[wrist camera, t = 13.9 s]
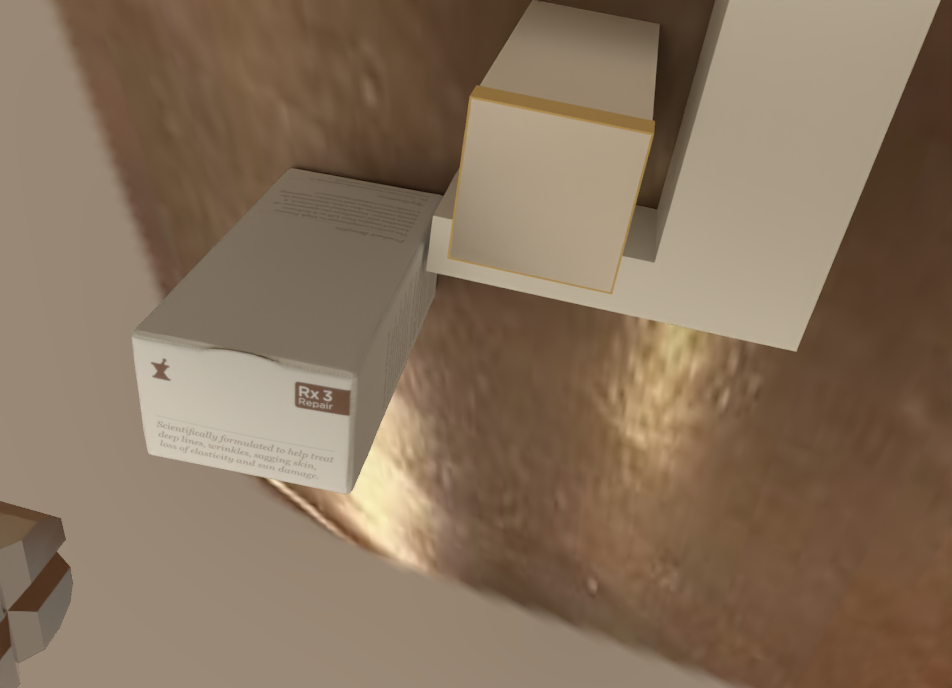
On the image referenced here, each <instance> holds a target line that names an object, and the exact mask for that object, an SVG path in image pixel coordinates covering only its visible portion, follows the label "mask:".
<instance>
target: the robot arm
mask: <svg viewBox="0 0 952 688" xmlns="http://www.w3.org/2000/svg"><path fill="white" fill-rule="evenodd" d="M65 540H66V538H65V534H64V530H63V525H62V521H61V518H58V517H55V516H51V515H47V514H44V513H40V512H37V511H33V510H29V509H26V508H22V507H19V506H15V505H12V504H8V503H5V502H1V501H0V688H17V687H18V686H19V685H20V672H19V663H20V662H22V661H24V660H26V659H28V658H30V657H32V656H34V655H35V654H37V653H39V652H41V651H43V650H45V649H46V647H47V646H48V644H49V643H50V641H51V640H52V638H53V637H54V635H55V634H56V633H57V631H58V630H59V628H60V626H61V624H62V621H63V619H64V616H65V614H66V612H67V609H68V607H69V604H70V601H71V594H72V593H71V592H72V585H73V581H72V575H71V567H70V566H69V565H68V564H67V563H66V562H65V560H64V559H63V558H62V557H61V556H60V555H59V554H58V553H57V550H58V549H59V548H60V546H61V545H62V544H63V542H64V541H65Z"/></svg>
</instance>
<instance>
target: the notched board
mask: <svg viewBox="0 0 952 688" xmlns="http://www.w3.org/2000/svg"><path fill="white" fill-rule="evenodd" d="M939 3H940V0H715V2H714V6H713V10H712V13H711V17H710V20H709V24H708V28H707V31H706V35H705V39H704V42H703V46H702V49H701V53H700V57H699V60H698V64H697V67H696V71H695V75H694V78H693V82H692V86H691V89H690V93H689V96H688V100H687V104H686V107H685V111H684V114H683V118H682V122H681V125H680V129H679V133H678V136H677V140H676V143H675V147H674V151H673V154H672V158H671V161H670V165H669V169H668V172H667V176H666V180H665V183H664V187H663V190H662V194H661V198H660V201H659V205H658V208H657V209H653V208H648V207H643V206H638V205H635V209H634V213H633V217H632V220H631V224H630V228H629V232H628V236H627V239H626V243H625V247H624V251H623V255H622V259H621V262H620V266H619V270H618V274H617V278H616V281H615V285H614V289H613V293H612V294H607V293H603V292H598V291H593V290H589V289H584V288H580V287H575V286H570V285H566V284H561V283H557V282H552V281H547V280H543V279H538V278H534V277H529V276H524V275H520V274H515V273H511V272H506V271H501V270H497V269H492V268H488V267H483V266H478V265H474V264H469V263H465V262H460V261H456V260H451V259H447V256H448V248H449V241H450V234H451V227H452V220H453V212H454V205H455V198H456V191H457V184H458V177H459V169H460V168H459V169H458V171H457V172H456V174H455V176H454V178H453V180H452V182H451V183H450V185H449V187H448V189H447V191H446V193H445V194H444V196H443V198H442V200H441V202H440V204H439V205H438V207H437V209H436V211H435V213H434V215H433V219H432V227H431V235H430V243H429V251H428V259H427V267H426V271H429V272H433V273H438V274H442V275H447V276H452V277H456V278H461V279H465V280H470V281H475V282H479V283H484V284H488V285H493V286H497V287H502V288H507V289H511V290H516V291H520V292H525V293H530V294H534V295H539V296H543V297H548V298H552V299H557V300H562V301H566V302H571V303H575V304H580V305H584V306H589V307H594V308H598V309H603V310H607V311H612V312H617V313H621V314H626V315H630V316H635V317H639V318H644V319H649V320H653V321H658V322H662V323H667V324H672V325H676V326H681V327H685V328H690V329H694V330H699V331H704V332H708V333H713V334H717V335H722V336H726V337H731V338H736V339H740V340H745V341H749V342H754V343H759V344H763V345H768V346H772V347H777V348H781V349H786V350H791V351H795V352H796V351H797V348H798V346H799V343H800V341H801V338H802V336H803V334H804V331H805V329H806V326H807V324H808V321H809V319H810V317H811V314H812V312H813V309H814V307H815V304H816V302H817V300H818V297H819V295H820V292H821V290H822V287H823V285H824V283H825V280H826V278H827V275H828V273H829V270H830V268H831V265H832V263H833V261H834V258H835V256H836V253H837V251H838V248H839V246H840V244H841V241H842V239H843V236H844V234H845V231H846V229H847V227H848V224H849V222H850V219H851V217H852V214H853V212H854V210H855V207H856V205H857V202H858V200H859V197H860V195H861V192H862V190H863V188H864V185H865V183H866V180H867V178H868V175H869V173H870V171H871V168H872V166H873V163H874V161H875V158H876V156H877V154H878V151H879V149H880V146H881V144H882V141H883V139H884V137H885V134H886V132H887V129H888V127H889V124H890V122H891V120H892V117H893V115H894V112H895V110H896V107H897V105H898V102H899V100H900V98H901V95H902V93H903V90H904V88H905V85H906V83H907V81H908V78H909V76H910V73H911V71H912V68H913V66H914V64H915V61H916V59H917V56H918V54H919V51H920V49H921V47H922V44H923V42H924V39H925V37H926V34H927V32H928V29H929V27H930V25H931V22H932V20H933V17H934V15H935V12H936V10H937V8H938V5H939Z"/></svg>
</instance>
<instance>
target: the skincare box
mask: <svg viewBox="0 0 952 688" xmlns="http://www.w3.org/2000/svg"><path fill="white" fill-rule="evenodd" d="M442 198H443V196H442V195H439V194H433V193H427V192H421V191H415V190H410V189H404V188H399V187H393V186H388V185H382V184H377V183H372V182H366V181H361V180H355V179H350V178H344V177H338V176H333V175H327V174H322V173H316V172H311V171H305V170H300V169H294V168H290V169H288V170H287V171H286V172H285V173H284V174H283V175H282V176H281V177H280V178H279V179H278V180H277V181H276V182H275V183H274V185H272V187H271V188H270V189H269V190H268V191H267V192H266V193H265V194H264V195H263V196H262V197H261V198H260V199H259V200H258V201H257V202H256V203H255V204H254V205H253V206H252V207H251V208H250V209H249V210H248V212H247V213H246V214H245V215H244V216H243V217H242V218H241V219H240V220H239V221H238V222H237V223H236V224H235V225H234V226H233V227H232V228H231V229H230V230H229V232H228V233H227V234H226V235H225V236H224V237H223V238H222V239H221V240H220V241H219V242H218V243H217V244H216V245H215V246H214V247H213V248H212V249H211V250H210V251H209V252H208V254H207V255H206V256H205V257H204V258H203V259H202V260H201V261H200V262H199V263H198V264H197V265H196V266H195V267H194V268H193V269H192V270H191V271H190V272H189V273H188V274H187V275H186V277H185V278H184V279H183V280H182V281H181V282H180V283H179V284H178V285H177V286H176V287H175V288H174V289H173V290H172V291H171V292H170V293H169V294H168V295H167V297H166V298H165V299H164V300H163V301H162V302H161V303H160V304H159V305H158V306H157V307H156V308H155V309H154V310H153V311H152V312H151V313H150V314H149V315H148V317H147V318H146V319H145V320H144V321H143V322H142V323H141V324H140V325H139V326H138V327H137V328H136V329H135V330H134V331H133V333H132V345H133V353H134V361H135V371H136V376H137V384H138V392H139V399H140V406H141V415H142V423H143V428H144V434H145V439H146V444H147V450H148V452H149V454H151V455H156V456H161V457H166V458H171V459H176V460H181V461H186V462H191V463H196V464H201V465H206V466H211V467H216V468H221V469H225V470H231V471H235V472H241V473H245V474H250V475H255V476H260V477H265V478H270V479H275V480H279V481H284V482H290V483H295V484H299V485H304V486H309V487H314V488H319V489H324V490H328V491H333V492H337V493H341V494H349V493H350V492H351V491H352V490H353V488H354V486H355V483H356V481H357V478H358V476H359V474H360V472H361V469H362V467H363V464H364V462H365V460H366V458H367V456H368V453H369V451H370V448H371V446H372V443H373V441H374V438H375V436H376V433H377V431H378V428H379V426H380V424H381V421H382V419H383V416H384V414H385V412H386V409H387V407H388V405H389V402H390V400H391V398H392V395H393V393H394V391H395V388H396V386H397V383H398V381H399V379H400V376H401V374H402V372H403V370H404V367H405V365H406V363H407V360H408V358H409V356H410V353H411V351H412V349H413V346H414V344H415V342H416V339H417V337H418V334H419V332H420V330H421V327H422V325H423V323H424V320H425V318H426V316H427V313H428V311H429V308H430V306H431V304H432V301H433V299H434V297H435V294H436V281H437V273H433V272H429V271H426V267H427V259H428V251H429V243H430V235H431V227H432V219H433V215H434V213H435V211H436V209H437V207H438V205H439V204H440V202H441V200H442Z"/></svg>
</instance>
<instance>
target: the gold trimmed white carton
mask: <svg viewBox="0 0 952 688" xmlns="http://www.w3.org/2000/svg"><path fill="white" fill-rule="evenodd" d="M659 28H660V24H657V23H652V22H646V21H641V20H636V19H631V18H626V17H621V16H615V15H610V14H605V13H600V12H595V11H589V10H584V9H579V8H574V7H569V6H564V5H558V4H553V3H548V2H543V1H538V0H532V1H531V3H530V5H529V6H528V8H527V9H526V11H525V13H524V14H523V16H522V18H521V19H520V21H519V22H518V24H517V26H516V27H515V29H514V31H513V32H512V34H511V35H510V37H509V39H508V40H507V42H506V44H505V45H504V47H503V48H502V50H501V52H500V53H499V55H498V57H497V58H496V60H495V61H494V63H493V65H492V66H491V68H490V70H489V71H488V73H487V74H486V76H485V78H484V79H483V81H482V83H481V84H480V86H478V85H476V87H475V88H474V90H473V92H472V93H471V95H470V98H469V105H468V112H467V119H466V126H465V133H464V141H463V148H462V155H461V162H460V169H459V177H458V184H457V191H456V198H455V205H454V212H453V220H452V227H451V234H450V241H449V248H448V256H447V259H451V260H456V261H460V262H465V263H469V264H474V265H478V266H483V267H488V268H492V269H497V270H501V271H506V272H511V273H515V274H520V275H524V276H529V277H534V278H538V279H543V280H547V281H552V282H557V283H561V284H566V285H570V286H575V287H580V288H584V289H589V290H593V291H598V292H603V293H607V294H612V293H613V289H614V285H615V281H616V278H617V274H618V270H619V266H620V262H621V259H622V255H623V251H624V247H625V243H626V239H627V236H628V232H629V228H630V224H631V220H632V217H633V213H634V209H635V205H636V201H637V198H638V194H639V190H640V186H641V182H642V179H643V175H644V171H645V167H646V163H647V159H648V156H649V152H650V148H651V144H652V140H653V137H654V131H655V121H653V108H654V95H655V82H656V68H657V55H658V42H659Z"/></svg>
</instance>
